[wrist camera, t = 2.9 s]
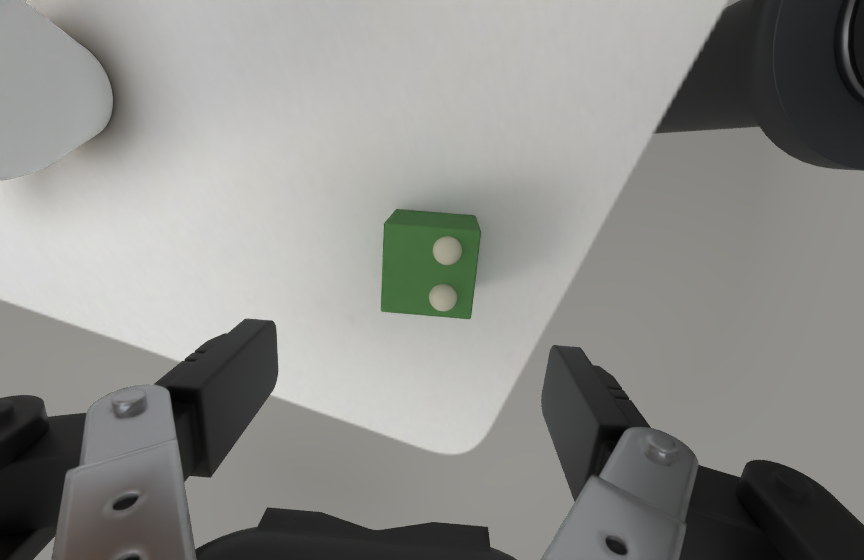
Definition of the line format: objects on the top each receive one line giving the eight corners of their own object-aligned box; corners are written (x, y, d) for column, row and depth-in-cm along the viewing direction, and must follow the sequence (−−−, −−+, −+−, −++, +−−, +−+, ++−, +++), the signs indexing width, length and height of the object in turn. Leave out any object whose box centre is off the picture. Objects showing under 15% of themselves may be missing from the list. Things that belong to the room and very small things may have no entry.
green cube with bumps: (475, 215, 23) (482, 233, 18) (467, 290, 25) (471, 325, 20) (395, 208, 23) (381, 225, 18) (392, 284, 25) (378, 317, 20)
